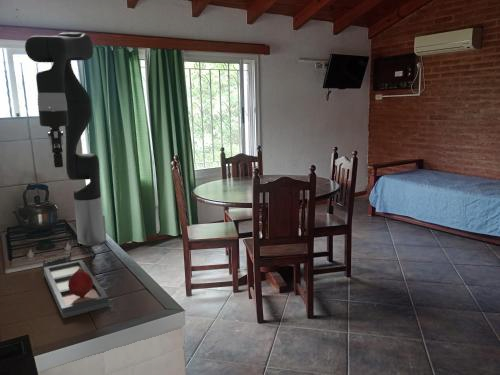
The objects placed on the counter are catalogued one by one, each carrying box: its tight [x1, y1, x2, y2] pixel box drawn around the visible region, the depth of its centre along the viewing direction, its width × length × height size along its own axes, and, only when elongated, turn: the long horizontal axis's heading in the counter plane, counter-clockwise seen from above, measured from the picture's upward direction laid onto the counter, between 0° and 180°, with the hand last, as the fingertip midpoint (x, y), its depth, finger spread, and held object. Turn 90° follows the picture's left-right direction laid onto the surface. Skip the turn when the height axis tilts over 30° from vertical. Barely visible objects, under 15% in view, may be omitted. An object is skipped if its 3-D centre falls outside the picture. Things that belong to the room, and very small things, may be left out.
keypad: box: [43, 259, 110, 319], centre depth 114 cm, size 30×11×3 cm, turn 34°
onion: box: [68, 268, 93, 297], centre depth 105 cm, size 6×6×8 cm
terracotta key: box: [62, 288, 99, 305], centre depth 106 cm, size 8×8×1 cm
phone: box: [42, 256, 71, 272], centre depth 135 cm, size 8×1×15 cm
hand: (58, 165), depth 120 cm, fingers open, 8 cm apart
